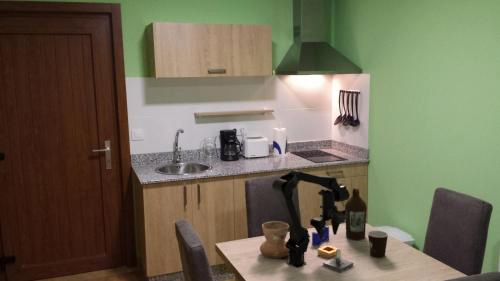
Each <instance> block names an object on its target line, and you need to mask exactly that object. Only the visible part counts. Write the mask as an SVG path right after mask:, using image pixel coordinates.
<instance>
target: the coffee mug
mask: <svg viewBox="0 0 500 281" xmlns="http://www.w3.org/2000/svg"><path fill="white" fill-rule="evenodd" d="M388 235H389V234H388V233H387V232H386V231H382V230H371V231H368V232H367V237H368V239H367V240H368V245H369V246H368V247H369V248H368V249H369V256H370V257H371V258H375V259H381V258H382V259H384V258H385V257H386V250H387V243H388V238H389V236H388Z"/></svg>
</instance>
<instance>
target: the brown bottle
mask: <svg viewBox="0 0 500 281" xmlns="http://www.w3.org/2000/svg"><path fill="white" fill-rule="evenodd" d="M351 192H352V193H351V194H352V195H351V196H350V197H349V199H348V200H346V202H345V206H344V210H346V211H347V214H348V215H347V217H348V218H346V219H345V221H344V222H345V238H347V239H348V240H353V241H362V240H364V239H365V238H366V230H367V229H366V227H367V226H366V225H367V224H366V223H367V212H368V211H367V209H368V208H367V204H366V202H365V201H364V200H363V199H362V197H361V196H360V188H359V187H352V191H351Z"/></svg>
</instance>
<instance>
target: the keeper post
mask: <svg viewBox="0 0 500 281" xmlns="http://www.w3.org/2000/svg"><path fill="white" fill-rule="evenodd" d="M341 252H342V251H341V249H340V248H337V250H336V256H335V257H333V258H330V259H328V260H325V261H324V262H323V263H322V264H323V265H322V266H323V267H324V268H328V269H330V270H333V271H335V272H338V273H342V272H344V271H346V270H348V269H350V268H352V267H354V262H352V261H349V260H347V259H344V258H341Z"/></svg>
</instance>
